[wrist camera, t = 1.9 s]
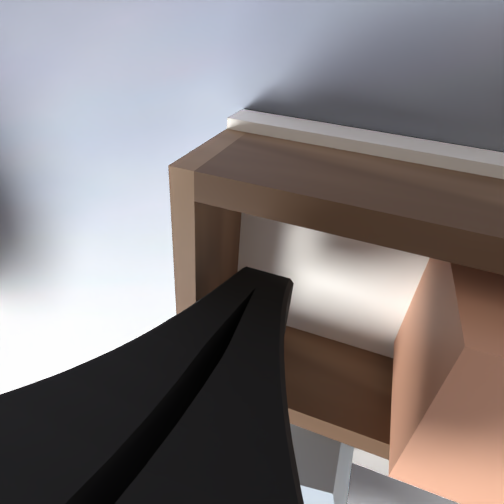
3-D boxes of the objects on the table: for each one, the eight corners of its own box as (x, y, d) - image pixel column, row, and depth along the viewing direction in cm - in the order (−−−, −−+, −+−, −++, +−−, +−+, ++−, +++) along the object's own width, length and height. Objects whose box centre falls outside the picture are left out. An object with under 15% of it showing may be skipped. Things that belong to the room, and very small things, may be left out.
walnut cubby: (532, 416, 12) (565, 526, 9) (220, 318, 15) (180, 382, 12) (709, 216, 8) (854, 315, 5) (227, 128, 10) (168, 165, 8)
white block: (353, 448, 16) (340, 556, 13) (266, 429, 17) (235, 521, 14) (349, 385, 14) (332, 494, 11) (252, 370, 16) (212, 461, 12)
